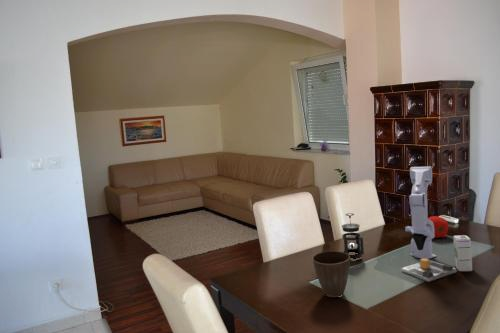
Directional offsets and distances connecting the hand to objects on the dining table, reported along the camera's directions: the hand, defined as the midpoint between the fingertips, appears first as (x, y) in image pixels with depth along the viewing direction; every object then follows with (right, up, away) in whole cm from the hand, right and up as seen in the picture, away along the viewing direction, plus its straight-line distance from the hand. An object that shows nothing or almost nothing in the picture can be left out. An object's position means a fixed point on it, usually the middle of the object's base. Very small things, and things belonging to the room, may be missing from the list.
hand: (420, 249), depth 184 cm
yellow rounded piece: (+2, -8, -1) cm, 8 cm away
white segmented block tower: (+18, -8, -3) cm, 20 cm away
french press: (-24, -9, +24) cm, 35 cm away
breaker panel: (+3, -9, -2) cm, 10 cm away
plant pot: (-42, -16, -15) cm, 47 cm away
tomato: (+27, -2, +44) cm, 51 cm away
